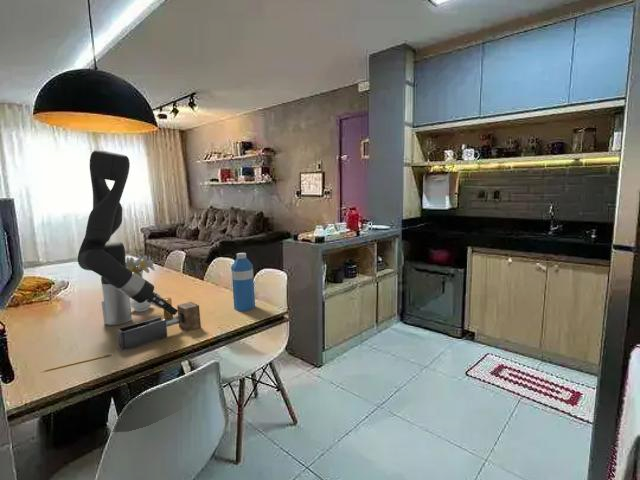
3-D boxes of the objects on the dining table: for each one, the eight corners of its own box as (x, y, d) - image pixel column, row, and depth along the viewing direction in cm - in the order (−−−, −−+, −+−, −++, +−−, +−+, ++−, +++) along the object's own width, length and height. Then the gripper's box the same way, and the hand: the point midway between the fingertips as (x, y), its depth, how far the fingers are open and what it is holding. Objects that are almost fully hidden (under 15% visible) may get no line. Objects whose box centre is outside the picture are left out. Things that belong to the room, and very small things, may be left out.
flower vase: (126, 318, 147) (120, 261, 144) (127, 306, 163) (121, 254, 160) (160, 312, 153) (154, 257, 150) (157, 302, 169) (152, 251, 166)
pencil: (112, 356, 114) (112, 353, 114) (112, 356, 113) (112, 353, 114) (39, 374, 104) (39, 371, 104) (39, 374, 103) (38, 371, 104)
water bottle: (234, 312, 151) (230, 256, 147) (233, 305, 160) (230, 252, 156) (256, 309, 153) (252, 254, 150) (254, 303, 162) (251, 251, 159)
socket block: (187, 331, 131) (185, 309, 130) (179, 327, 136) (177, 305, 135) (200, 327, 135) (199, 305, 134) (192, 323, 140) (190, 301, 139)
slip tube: (151, 332, 124) (148, 304, 122) (148, 330, 126) (145, 302, 124) (194, 320, 135) (192, 294, 133) (190, 318, 137) (188, 292, 136)
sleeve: (123, 351, 116) (121, 332, 115) (118, 346, 120) (116, 328, 119) (167, 337, 127) (165, 320, 126) (161, 333, 130) (160, 316, 129)
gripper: (150, 281, 117) (188, 307, 127) (136, 275, 127) (172, 299, 137) (135, 300, 114) (175, 325, 124) (122, 292, 124) (160, 316, 134)
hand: (173, 311), depth 130 cm, fingers closed on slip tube, 3 cm apart
